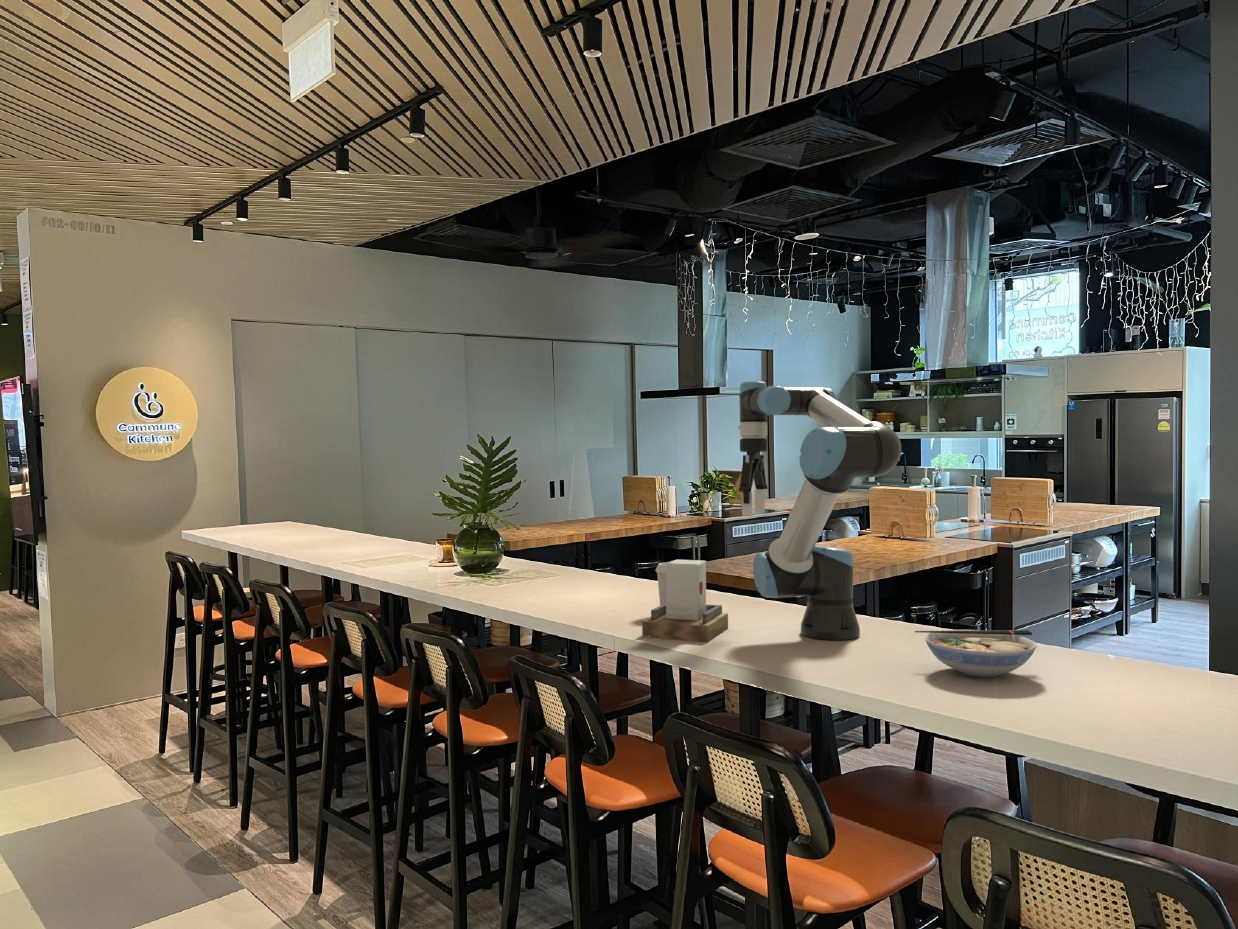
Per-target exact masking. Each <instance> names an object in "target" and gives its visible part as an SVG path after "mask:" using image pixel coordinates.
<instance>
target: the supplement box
mask: <svg viewBox="0 0 1238 929" xmlns="http://www.w3.org/2000/svg"><path fill="white" fill-rule="evenodd" d="M668 562H669V563H667V568H666V619H677V620H693V621H698V620H700V619H701V618H703V613H705V612H706V604H707V560H700V559H699V560H698V559H696V560H695V559H694V560H693V559H675V560H671V561H668Z"/></svg>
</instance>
